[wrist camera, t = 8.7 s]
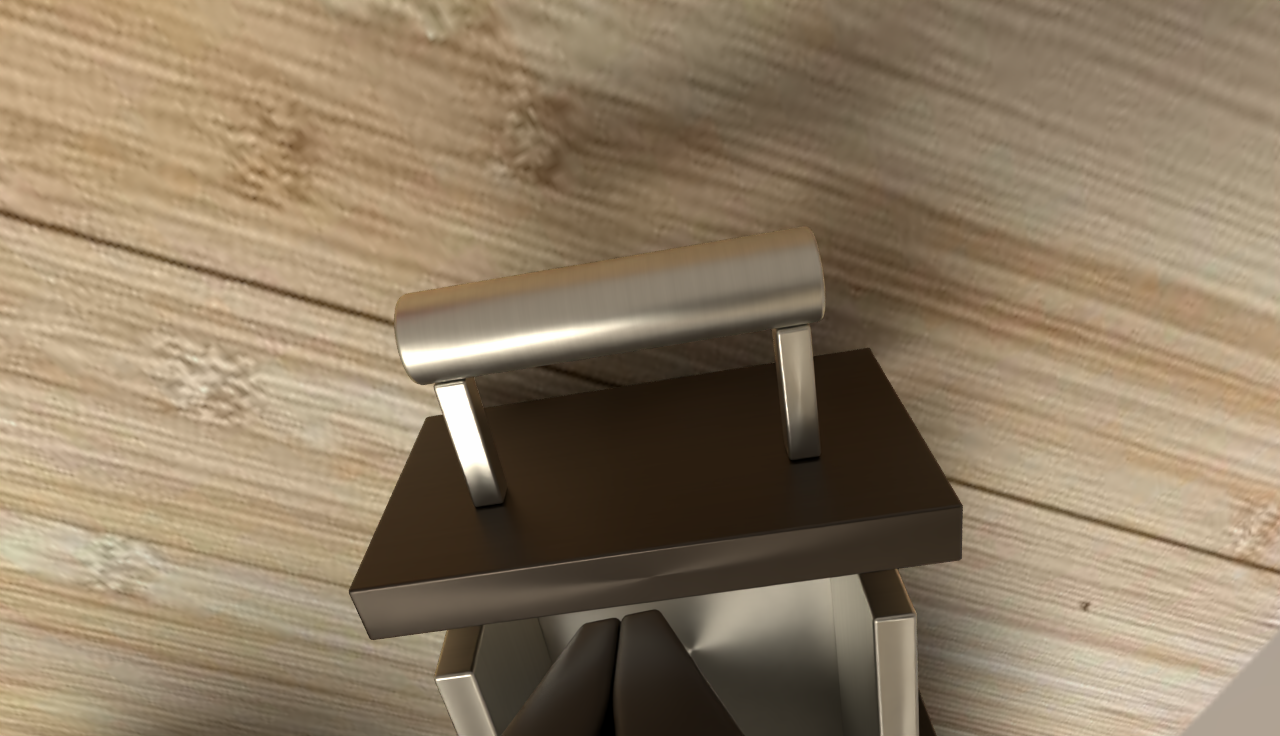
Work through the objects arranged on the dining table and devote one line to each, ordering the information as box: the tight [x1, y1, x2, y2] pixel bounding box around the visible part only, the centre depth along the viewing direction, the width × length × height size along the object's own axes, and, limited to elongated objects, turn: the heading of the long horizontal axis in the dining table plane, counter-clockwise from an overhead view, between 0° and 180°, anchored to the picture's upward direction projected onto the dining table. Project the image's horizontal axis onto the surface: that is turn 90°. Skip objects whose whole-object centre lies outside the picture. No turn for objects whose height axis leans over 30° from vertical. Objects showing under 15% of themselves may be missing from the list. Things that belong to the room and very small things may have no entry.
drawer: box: [349, 226, 963, 736], centre depth 18 cm, size 17×10×6 cm, turn 10°
